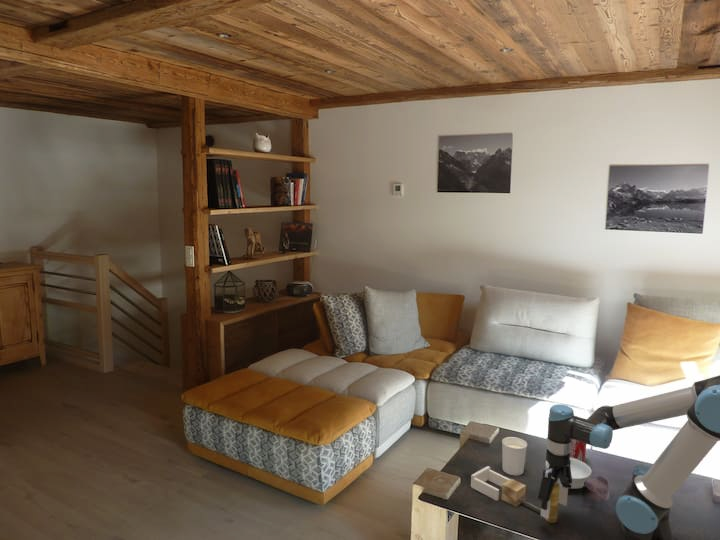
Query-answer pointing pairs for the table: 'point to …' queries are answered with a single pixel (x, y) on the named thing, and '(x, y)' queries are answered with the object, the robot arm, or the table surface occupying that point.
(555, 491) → the tethered block
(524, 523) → the table surface
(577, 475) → the cereal bowl
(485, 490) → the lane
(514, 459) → the candle holder
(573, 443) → the beverage can
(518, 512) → the table surface
